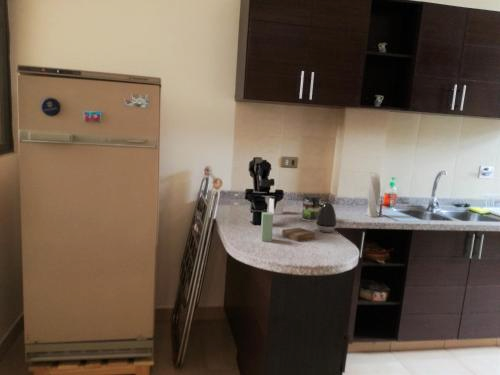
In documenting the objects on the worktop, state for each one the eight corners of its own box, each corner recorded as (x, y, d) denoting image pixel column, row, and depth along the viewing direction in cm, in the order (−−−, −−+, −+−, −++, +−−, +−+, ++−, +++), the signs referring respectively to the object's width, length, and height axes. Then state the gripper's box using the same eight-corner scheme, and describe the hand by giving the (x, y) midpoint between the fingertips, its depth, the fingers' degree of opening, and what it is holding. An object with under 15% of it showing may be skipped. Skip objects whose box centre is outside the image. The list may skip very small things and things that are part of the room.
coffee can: (313, 222, 219) (314, 197, 217) (298, 219, 226) (299, 195, 224) (323, 219, 227) (324, 196, 225) (308, 216, 234) (309, 193, 232)
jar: (281, 211, 246) (282, 193, 244) (284, 214, 238) (285, 195, 236) (267, 211, 245) (268, 192, 244) (269, 214, 237) (270, 194, 236)
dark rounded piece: (314, 228, 205) (315, 200, 202) (333, 229, 204) (335, 201, 202) (316, 233, 194) (318, 203, 192) (337, 234, 194) (339, 204, 192)
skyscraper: (371, 218, 239) (374, 173, 235) (362, 215, 246) (366, 171, 242) (382, 217, 242) (385, 173, 238) (373, 215, 249) (377, 171, 245)
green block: (260, 238, 180) (261, 212, 179) (270, 238, 181) (271, 212, 179) (262, 241, 176) (263, 214, 174) (271, 241, 176) (273, 214, 175)
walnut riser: (281, 237, 186) (282, 229, 186) (298, 234, 193) (299, 227, 192) (297, 242, 177) (298, 235, 177) (314, 239, 184) (315, 232, 183)
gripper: (245, 172, 186) (247, 198, 176) (284, 173, 188) (287, 199, 178) (243, 186, 195) (245, 212, 185) (280, 187, 197) (283, 212, 187)
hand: (265, 208), depth 184 cm, fingers open, 9 cm apart
